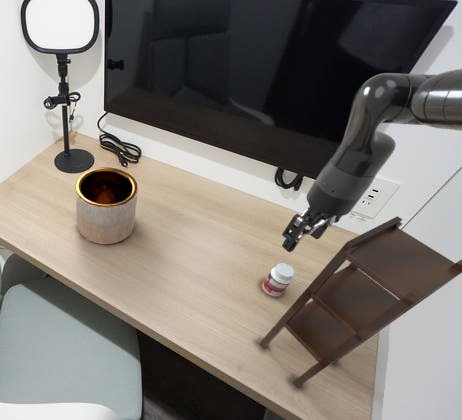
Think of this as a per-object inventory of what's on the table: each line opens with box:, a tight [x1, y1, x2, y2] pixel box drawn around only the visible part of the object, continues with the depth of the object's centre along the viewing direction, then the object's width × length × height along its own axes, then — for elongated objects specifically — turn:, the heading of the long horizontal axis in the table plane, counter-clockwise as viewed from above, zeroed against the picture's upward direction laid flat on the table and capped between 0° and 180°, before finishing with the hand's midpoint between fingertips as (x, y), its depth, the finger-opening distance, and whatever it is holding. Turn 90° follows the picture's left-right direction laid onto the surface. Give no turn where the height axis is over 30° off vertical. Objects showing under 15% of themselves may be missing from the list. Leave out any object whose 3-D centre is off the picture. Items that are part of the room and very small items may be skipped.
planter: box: [74, 166, 139, 245], centre depth 92 cm, size 18×18×16 cm
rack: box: [258, 215, 462, 389], centre depth 57 cm, size 10×12×36 cm
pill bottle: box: [262, 262, 295, 297], centre depth 78 cm, size 5×5×8 cm
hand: (300, 242), depth 69 cm, fingers open, 8 cm apart
